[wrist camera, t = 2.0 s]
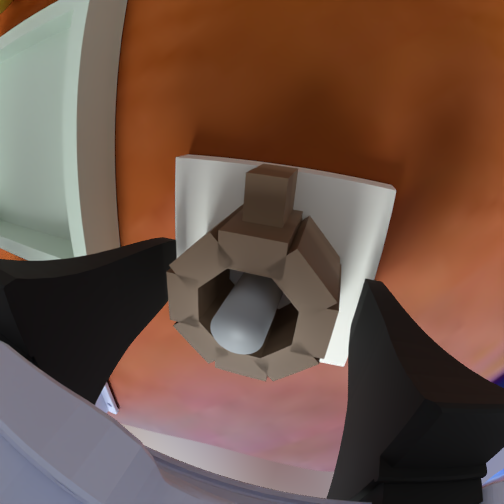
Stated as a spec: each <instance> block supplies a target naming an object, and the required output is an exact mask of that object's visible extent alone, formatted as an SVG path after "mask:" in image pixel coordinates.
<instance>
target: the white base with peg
mask: <svg viewBox="0 0 504 504" xmlns="http://www.w3.org/2000/svg"><path fill="white" fill-rule="evenodd" d="M262 164H270V165H278V166H285V167H291V168H298V175H297V183H296V191H295V198H294V206H293V210H299V211H303V214H302V220H304V219H305V218H307V217H308V216H309V215H310V216H311V218H312V219H313V221H314V222H315V223H316V225H317V226H318V227H319V229H320V230H321V231H322V233H323V234H324V236H325V237H326V238H327V240H328V241H329V243H330V244H331V245H332V247H333V248H334V250H335V251H336V252H337V254H338V255H339V257H340V264H342V265H341V287H340V303H339V313H338V316H337V319H336V323H335V326H334V329H333V333H332V336H331V339H330V342H329V345H328V349H327V352H326V355H325V358H324V359H321V358H320V361H319V362H322V363H327V364H332V365H337V366H343V367H344V365H345V362H346V360H347V357H348V346H349V337H350V328H351V323H352V320H353V317H354V314H355V311H356V307H357V304H358V301H359V298H360V294H361V291H362V288H363V284H364V281H365V278H366V279H371V280H374V278H375V275H376V272H377V268H378V265H379V261H380V257H381V254H382V250H383V246H384V242H385V239H386V235H387V231H388V226H389V222H390V218H391V214H392V209H393V205H394V200H395V195H396V189H395V188H394V187H393V186H392V185H390V184H385V183H381V182H376V181H372V180H367V179H362V178H357V177H352V176H347V175H342V174H336V173H331V172H325V171H320V170H314V169H308V168H301V167H295V166H288V165H281V164H274V163H267V162H259V161H251V160H243V159H234V158H224V157H214V156H202V155H190V154H188V155H183V156H180V157H176V173H175V234H176V250H177V258H178V257H179V256H180V255H181V254H183V253H184V252H185V251H186V250H187V249H188V248H190V247H191V246H192V245H193V244H194V243H195V242H197V241H198V240H199V239H200V238H201V237H203V236H204V235H205V234H206V233H207V232H209V231H210V230H211V229H212V228H213V227H215V226H216V225H217V224H218V223H220V222H221V221H222V220H223V219H225V218H226V217H227V216H229V215H230V214H231V213H232V212H234V211H235V210H236V209H237V208H239V207H240V206H241V205H243V204H244V191H245V178H246V172H248V171H250V170H252V169H254V168H256V167H258V166H260V165H262ZM230 280H231V281H232V282H233V283H234V285H235V286H234V287H233V289H232V290H231V292H230V293H229V295H228V296H227V298H226V299H225V301H224V302H223V304H222V305H221V307H220V308H219V310H218V311H217V313H216V314H215V316H214V317H213V319H212V321H211V325H210V328H211V333H212V335H213V337H214V339H215V340H216V341H217V343H218V344H219V345H221V346H222V347H223V348H225V349H226V350H228V351H230V352H233V353H236V354H252V353H254V352H256V351H258V350H259V349H260V348H261V347H262V345H263V343H264V340H265V338H266V335H267V333H268V330H269V328H270V325H271V323H272V320H273V318H274V315H275V312H276V310H277V308H278V309H280V308H282V307H284V306H286V305H288V304H290V303H291V302H290V300H289V299H288V298H287V297H286V295H285V294H284V293H283V292H282V290H281V289H280V288H279V287H278V285H277V284H276V283H275V282H274V280H273V279H272V278H269V277H264V276H259V275H255V274H250V273H246V272H241V271H236V270H232V269H230Z"/></svg>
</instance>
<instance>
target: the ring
mask: <svg viewBox="0 0 504 504" xmlns="http://www.w3.org/2000/svg"><path fill="white" fill-rule="evenodd" d="M297 175H298V168H291V167H285V166H278V165H270V164H262V165H260V166H258V167H256V168H254V169H252V170H250V171H248V172H246V178H245V191H244V204H243V205H241V206H240V207H239V208H237V209H236V210H235V211H234V212H232V213H231V214H230V215H229V216H227V217H226V218H225V219H223V220H222V221H221V222H220V223H218V224H217V225H216V226H215V227H213V228H212V229H211V230H210V231H209V232H207V233H206V234H205V235H204V236H203V237H201V238H200V239H199V240H198V241H197V242H195V243H194V244H193V245H192V246H191V247H190V248H188V249H187V250H186V251H185V252H184V253H183V254H181V255H180V256H179V257H178V258H177V259H176V260H174V261H173V262H172V263H171V264H170V265H169V266H170V267H171V268H170V269H169V270H168V271H167V272H166V273H167V288H168V301H169V313H170V320H173V321H177V322H176V323H175V324H174V325H173V326H174V327H175V328H176V330H177V331H178V332H179V333H180V334H181V335H182V336H183V337H184V338H185V339H186V340H187V341H188V343H189V344H190V345H191V346H192V347H193V348H194V349H195V350H196V351H197V352H198V353H199V354H200V355H201V356H202V357H203V358H204V359H205V360H206V361H207V362H208V363H211V362H213V361H215V367H216V368H219V369H222V370H226V371H229V372H233V373H236V374H240V375H243V376H247V377H251V378H255V379H259V380H262V381H266V379H267V376H268V377H269V378H270V379H271V380H272V381H275V380H278V379H281V378H283V377H286V376H289V375H292V374H294V373H297V372H300V371H302V370H305V369H307V368H310V367H312V366H315V365H317V364H319V361H320V358H321V359H324V358H325V355H326V352H327V349H328V345H329V342H330V339H331V336H332V333H333V329H334V326H335V323H336V319H337V316H338V313H339V303H340V287H341V265H342V264H340V257H339V255H338V254H337V252H336V251H335V250H334V248H333V247H332V245H331V244H330V243H329V241H328V240H327V238H326V237H325V236H324V234H323V233H322V231H321V230H320V229H319V227H318V226H317V225H316V223H315V222H314V221H313V219H312V218H311V216H310V215H309V216H308V217H307V218H305V219H304V220H302V214H303V211H299V210H293V206H294V198H295V191H296V183H297ZM230 269H232V270H236V271H241V272H246V273H250V274H255V275H259V276H264V277H269V278H272V279H273V280H274V282H275V283H276V284H277V285H278V287H279V288H280V289H281V290H282V292H283V293H284V294H285V295H286V297H287V298H288V299H289V300H290V302H291V303H290V304H288V305H286V306H284V307H282V308H280V309H278V308H277V310H276V312H275V315H274V318H273V320H272V323H271V325H270V328H269V330H268V333H267V335H266V338H265V340H264V343H263V345H262V347H261V348H260V349H259V350H258V351H256V352H254V353H252V354H236V353H233V352H230V351H228V350H226V349H225V348H223V347H222V346H221V345H219V344H218V343H217V341H216V340H215V339H214V337H213V335H212V333H211V328H210V325H211V321H212V319H213V317H214V316H215V314H216V313H217V311H218V310H219V308H220V307H221V305H222V304H223V302H224V301H225V299H226V298H227V296H228V295H229V293H230V292H231V290H232V289H233V287H234V286H235V285H234V283H233V282H232V281H231V280H230Z"/></svg>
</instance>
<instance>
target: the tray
mask: <svg viewBox="0 0 504 504" xmlns="http://www.w3.org/2000/svg"><path fill="white" fill-rule="evenodd" d="M126 6H127V0H58V1H57V2H55V3H53V4H51V5H49V6H48V7H46V8H44V9H42V10H41V11H39V12H37V13H36V14H34V15H32V16H31V17H29V18H28V19H26V20H24V21H23V22H21V23H20V24H18V25H17V26H15V27H14V28H13V29H11V30H10V31H8V32H7V33H5V34H4V35H3V36H1V37H0V248H1V249H4V250H6V251H8V252H10V253H12V254H14V255H17V256H19V257H21V258H23V259H26V260H28V261H44V260H55V259H66V258H73V257H79V256H85V255H90V254H95V253H99V252H103V251H107V250H111V249H115V248H119V247H120V239H119V228H118V216H117V201H116V181H115V110H116V90H117V76H118V65H119V55H120V46H121V38H122V31H123V24H124V18H125V12H126Z"/></svg>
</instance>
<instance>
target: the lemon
mask: <svg viewBox="0 0 504 504" xmlns="http://www.w3.org/2000/svg"><path fill="white" fill-rule="evenodd" d="M12 1H14V0H0V14H1V13H2V12H3V11H4V10H5V9H6V8H7V7H8V6H9V5H10V4H11V2H12Z"/></svg>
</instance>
